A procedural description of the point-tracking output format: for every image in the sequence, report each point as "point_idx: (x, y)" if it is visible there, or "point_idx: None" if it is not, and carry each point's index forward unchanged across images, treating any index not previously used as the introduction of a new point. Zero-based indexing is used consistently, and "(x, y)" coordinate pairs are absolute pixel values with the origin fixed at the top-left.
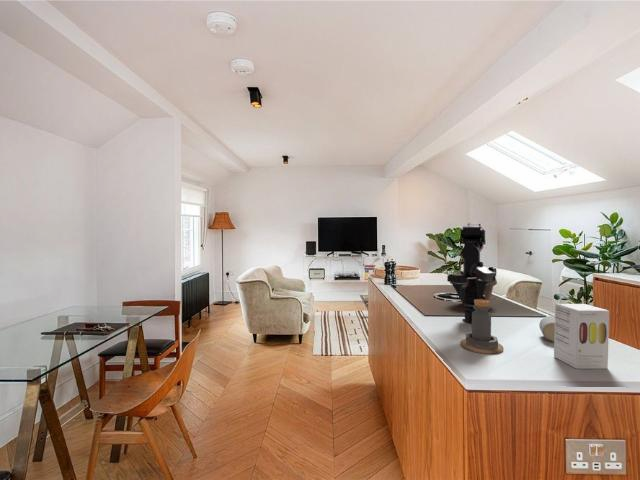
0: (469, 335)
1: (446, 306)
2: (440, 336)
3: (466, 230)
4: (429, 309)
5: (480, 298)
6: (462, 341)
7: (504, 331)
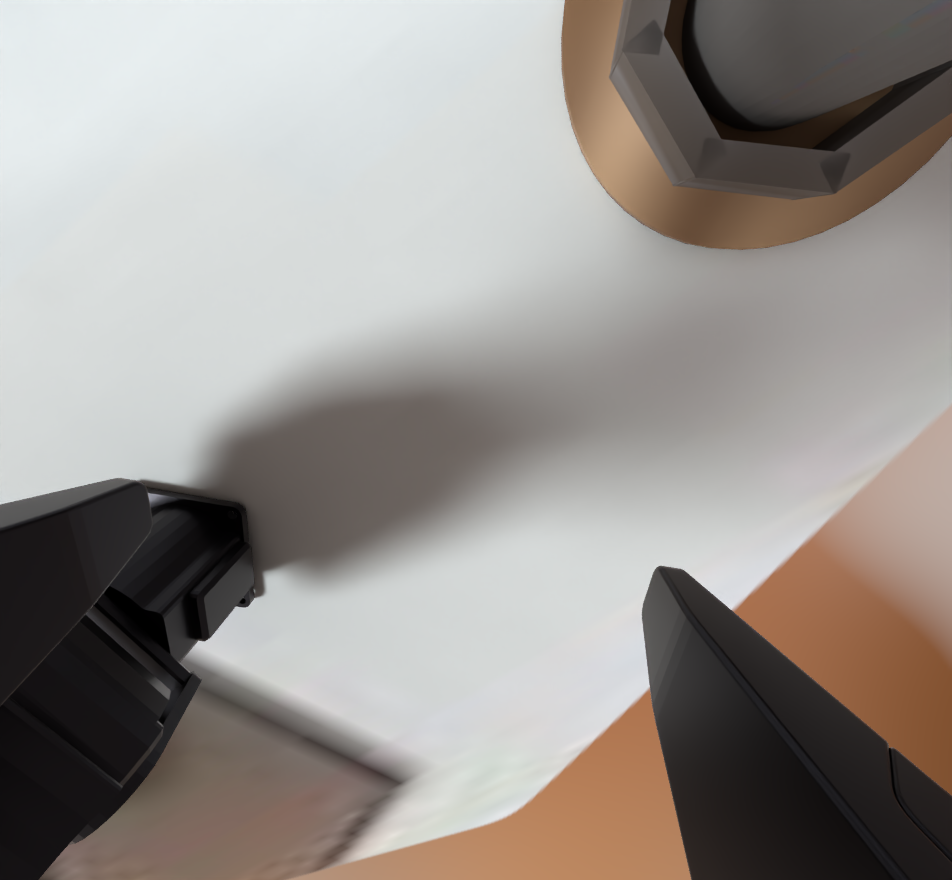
0: (825, 151)
1: None
2: (769, 453)
3: None
4: (266, 825)
5: (140, 499)
6: (840, 206)
7: (146, 250)
